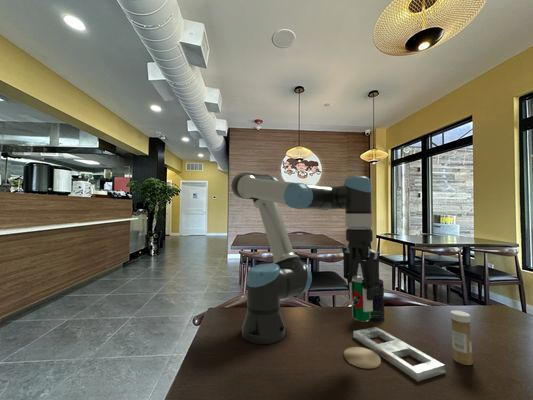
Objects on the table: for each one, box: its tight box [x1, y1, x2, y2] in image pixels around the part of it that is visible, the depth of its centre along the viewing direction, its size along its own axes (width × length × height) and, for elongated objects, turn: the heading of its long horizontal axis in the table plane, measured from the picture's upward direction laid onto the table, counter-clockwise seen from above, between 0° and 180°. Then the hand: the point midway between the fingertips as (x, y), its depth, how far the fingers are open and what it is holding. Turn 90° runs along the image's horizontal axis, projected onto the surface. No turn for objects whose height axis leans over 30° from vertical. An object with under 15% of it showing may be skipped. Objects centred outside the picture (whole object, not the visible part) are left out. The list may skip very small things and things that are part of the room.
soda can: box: [351, 275, 371, 323], centre depth 73 cm, size 5×5×12 cm
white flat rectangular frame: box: [352, 326, 446, 382], centre depth 75 cm, size 24×10×2 cm, turn 20°
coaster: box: [343, 346, 382, 370], centre depth 72 cm, size 10×10×1 cm
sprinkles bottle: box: [450, 309, 474, 366], centre depth 71 cm, size 5×5×13 cm
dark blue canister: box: [367, 278, 385, 324], centre depth 101 cm, size 10×10×15 cm
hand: (361, 307), depth 73 cm, fingers closed on soda can, 5 cm apart
